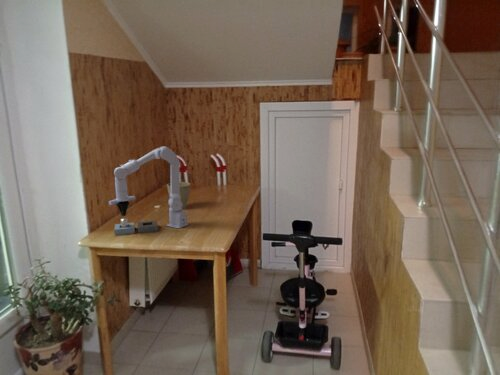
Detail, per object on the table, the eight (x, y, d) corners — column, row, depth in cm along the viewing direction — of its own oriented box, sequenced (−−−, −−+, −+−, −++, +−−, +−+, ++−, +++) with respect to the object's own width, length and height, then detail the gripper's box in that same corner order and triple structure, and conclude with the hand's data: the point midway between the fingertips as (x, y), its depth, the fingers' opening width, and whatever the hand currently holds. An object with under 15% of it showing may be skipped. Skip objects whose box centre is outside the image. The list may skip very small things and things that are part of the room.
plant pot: (186, 211, 246) (185, 186, 242) (164, 210, 249) (163, 186, 245) (194, 205, 260) (193, 182, 257) (173, 204, 263) (172, 181, 259)
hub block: (134, 227, 216) (134, 222, 215) (134, 233, 206) (134, 227, 206) (115, 229, 213) (115, 224, 212) (114, 235, 204) (114, 229, 203)
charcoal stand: (156, 225, 219) (156, 220, 218) (158, 231, 210) (157, 225, 209) (138, 227, 216) (137, 222, 216) (138, 233, 207) (138, 227, 206)
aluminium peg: (129, 230, 212) (128, 217, 210) (127, 232, 208) (126, 219, 207) (122, 230, 211) (121, 217, 210) (120, 232, 208) (119, 219, 206)
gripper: (113, 193, 197) (115, 220, 200) (137, 188, 208) (139, 213, 211) (105, 192, 201) (108, 217, 204) (130, 187, 212) (132, 211, 215)
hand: (123, 215), depth 208 cm, fingers closed
